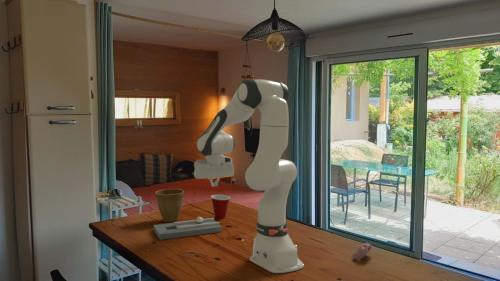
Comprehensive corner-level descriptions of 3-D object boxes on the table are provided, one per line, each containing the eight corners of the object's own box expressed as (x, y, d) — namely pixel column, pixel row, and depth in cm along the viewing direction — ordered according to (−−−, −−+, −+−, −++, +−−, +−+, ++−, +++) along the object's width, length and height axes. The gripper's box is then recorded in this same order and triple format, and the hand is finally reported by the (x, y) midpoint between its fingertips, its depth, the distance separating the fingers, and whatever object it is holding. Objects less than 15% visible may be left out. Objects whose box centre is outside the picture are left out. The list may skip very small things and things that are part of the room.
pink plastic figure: (360, 265, 146) (369, 251, 144) (350, 258, 148) (358, 244, 146) (367, 257, 155) (375, 244, 153) (357, 250, 157) (365, 237, 155)
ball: (204, 225, 185) (204, 217, 185) (196, 226, 184) (196, 218, 183) (202, 222, 189) (201, 215, 189) (194, 223, 187) (194, 215, 187)
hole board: (221, 231, 183) (221, 224, 183) (159, 239, 171) (159, 232, 170) (211, 223, 197) (211, 216, 197) (153, 230, 185) (153, 222, 185)
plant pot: (171, 215, 212) (170, 187, 211) (190, 219, 203) (189, 190, 202) (150, 221, 200) (149, 192, 199) (169, 226, 191) (168, 195, 190)
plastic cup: (229, 220, 202) (229, 198, 202) (209, 220, 203) (209, 198, 202) (231, 215, 213) (231, 194, 212) (212, 214, 213) (212, 194, 213)
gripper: (195, 160, 180) (196, 189, 181) (235, 158, 189) (235, 185, 189) (192, 159, 186) (192, 186, 187) (230, 157, 194) (230, 183, 195)
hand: (214, 186), depth 188 cm, fingers closed
